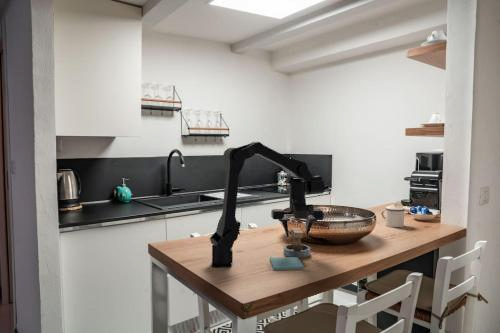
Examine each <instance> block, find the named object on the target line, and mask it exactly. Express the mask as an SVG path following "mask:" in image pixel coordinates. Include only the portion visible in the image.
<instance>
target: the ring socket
mask: <svg viewBox="0 0 500 333" xmlns="http://www.w3.org/2000/svg"><path fill="white" fill-rule="evenodd" d="M292 249H293V243H289V244H285V245H284V246H283V255H284V256H285V257H298V258H299V259H304V258H305V259H306V258H308V257H309V258H310V257H311V247H310V246H309V245H306V244H302V243H301V250H303V251H294V250H292Z"/></svg>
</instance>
